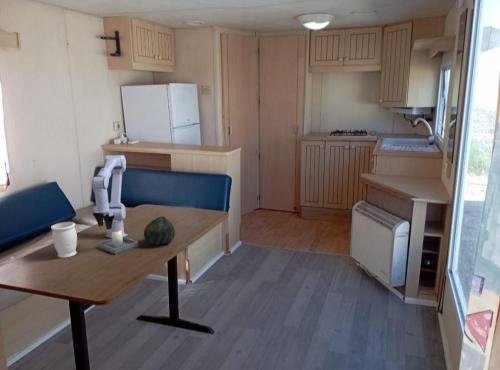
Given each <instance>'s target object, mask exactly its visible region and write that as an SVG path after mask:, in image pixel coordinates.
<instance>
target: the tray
mask: <svg viewBox="0 0 500 370" xmlns="http://www.w3.org/2000/svg"><path fill="white" fill-rule="evenodd" d="M122 237H123V246H122V247H119V248H114V247H113V243H112V238H109V239H106V240H103V241H99V242H97V244H98V245H97V246H98V248H99V249H100V250H103V251H106V252H108V253H110V254H112V255H117V254H121V253H124V252H127V251H129V250H132V249H135V248H138V247H139V241H137V240H135V239H131V238H129V237H127V236H122Z"/></svg>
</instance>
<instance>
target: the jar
mask: <svg viewBox="0 0 500 370" xmlns="http://www.w3.org/2000/svg"><path fill="white" fill-rule="evenodd" d="M75 226H76V222H73V221H63V222H57V223H55V224H53V225H51V227H50V228H51V230H52V242H53V245H54V248H55V250H56V252H57V257H58V258H62V259H65V258H70V257H73V256H75V255H76V254H77V250H76V249H77V245H78V243H77V242H78V235H77V231H76V228H75Z"/></svg>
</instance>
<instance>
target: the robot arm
mask: <svg viewBox="0 0 500 370" xmlns="http://www.w3.org/2000/svg"><path fill="white" fill-rule="evenodd" d="M126 168H127V160H126V156H125V155H124V154H121V155H119V154H118V155H108V154H107V155H106V156H104V167H102V168H101V169H100V170H98V171H99V172H98V173H97V175H96V176H93V178H92V179H91V188H92V190H93V193H94V197H95V198H94V199H95V207H93V212H92V216H93V217H94V219H95V220H96V222H97V225H98V227H102V226H104V223H105V229H106V234H105V237H107V238H109V239H112V234H111V231H112V230H115V229H121V230H122V236H124V237H127V236H129V235H128V233H125V230H124V229H125V228H124V220H125V219H126V215H127V214H126V212H127V211H126V206H125V205H124V204H123V203H122V202H121V197H122V195H121V194H122V182H123V181H122V180H123V173H125V171H126ZM111 176H112V180H111V181H112V182H111V191H110V192H111V194H110V202H109V194H108V187H109V183H110V182H109V181H110V179H111Z"/></svg>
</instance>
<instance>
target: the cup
mask: <svg viewBox="0 0 500 370" xmlns="http://www.w3.org/2000/svg"><path fill="white" fill-rule="evenodd" d="M111 234H112V238H111V239H112V243H113V247H114V248H119V247H122V246H123V237H122V230H121V229H115V230H112V231H111Z"/></svg>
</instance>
